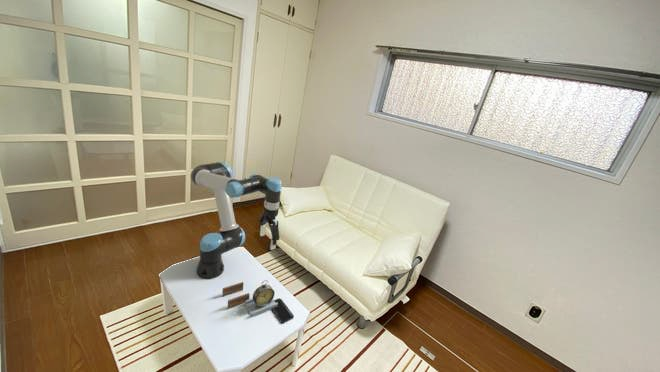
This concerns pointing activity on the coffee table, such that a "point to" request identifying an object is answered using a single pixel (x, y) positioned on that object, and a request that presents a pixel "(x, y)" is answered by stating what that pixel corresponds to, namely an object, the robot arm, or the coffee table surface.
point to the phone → (282, 311)
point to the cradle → (258, 307)
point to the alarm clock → (263, 295)
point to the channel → (237, 300)
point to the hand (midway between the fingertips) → (267, 242)
